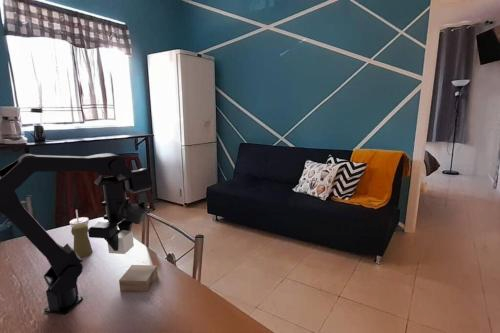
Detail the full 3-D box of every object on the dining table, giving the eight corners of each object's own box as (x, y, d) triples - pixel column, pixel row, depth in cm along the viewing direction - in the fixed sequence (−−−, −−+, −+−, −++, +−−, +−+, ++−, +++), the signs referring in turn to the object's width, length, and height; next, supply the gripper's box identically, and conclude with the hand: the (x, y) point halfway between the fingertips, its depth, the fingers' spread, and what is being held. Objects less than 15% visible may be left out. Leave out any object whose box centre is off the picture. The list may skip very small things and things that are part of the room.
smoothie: (68, 246, 109) (63, 211, 106) (82, 238, 115) (78, 205, 112) (82, 248, 107) (76, 213, 104) (95, 240, 113) (91, 207, 110)
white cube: (124, 254, 83) (122, 238, 82) (108, 253, 84) (106, 237, 82) (133, 245, 88) (132, 230, 87) (118, 244, 88) (117, 230, 87)
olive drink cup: (77, 259, 99) (73, 230, 97) (70, 254, 102) (66, 226, 100) (95, 252, 104) (92, 224, 101) (88, 248, 107) (84, 220, 105)
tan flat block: (147, 293, 81) (146, 281, 81) (120, 292, 82) (118, 280, 81) (157, 276, 89) (156, 265, 88) (133, 276, 90) (131, 264, 89)
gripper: (123, 209, 72) (129, 265, 75) (156, 188, 90) (160, 233, 93) (83, 207, 73) (90, 262, 77) (123, 187, 91) (128, 232, 95)
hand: (121, 246), depth 85 cm, fingers closed on white cube, 5 cm apart
